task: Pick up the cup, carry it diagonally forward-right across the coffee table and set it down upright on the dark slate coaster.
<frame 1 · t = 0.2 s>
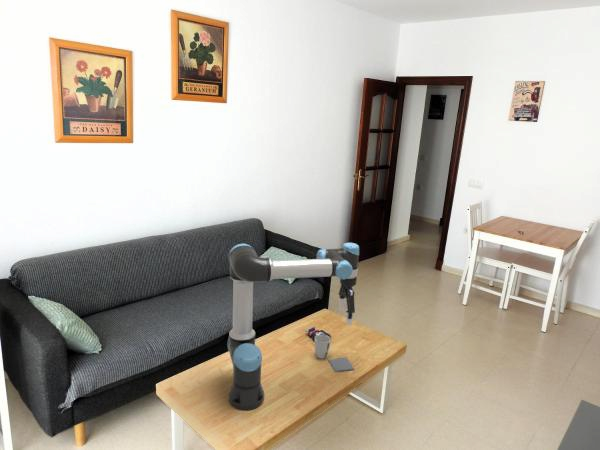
hand: (345, 317, 209), 27 cm above the table, fingers open, 13 cm apart
figurine: (317, 338, 243), on the table
coaster: (341, 365, 218), on the table
cup: (321, 356, 225), on the table
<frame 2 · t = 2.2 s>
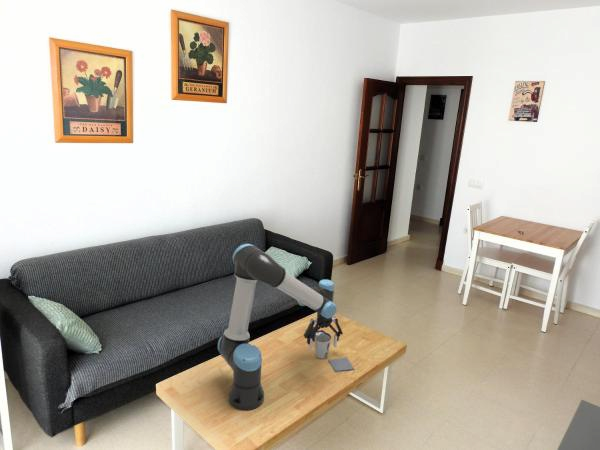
hand: (322, 348, 224), 5 cm above the table, fingers open, 13 cm apart
nothing on the table moved.
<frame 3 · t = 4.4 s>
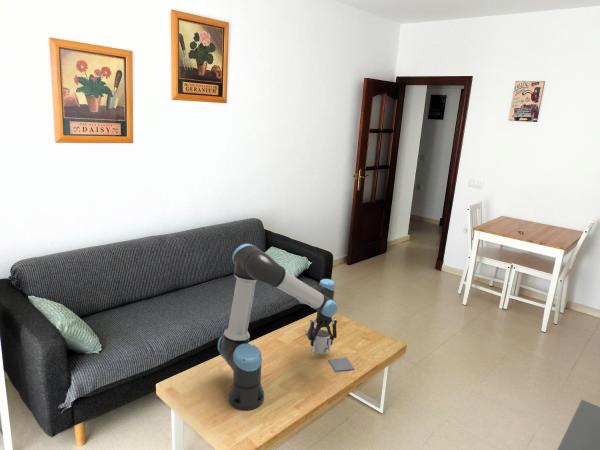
hand: (320, 350, 224), 3 cm above the table, fingers closed on cup, 8 cm apart
cup: (320, 351, 224), point 3 cm above the table, touching gripper
everything else where it was.
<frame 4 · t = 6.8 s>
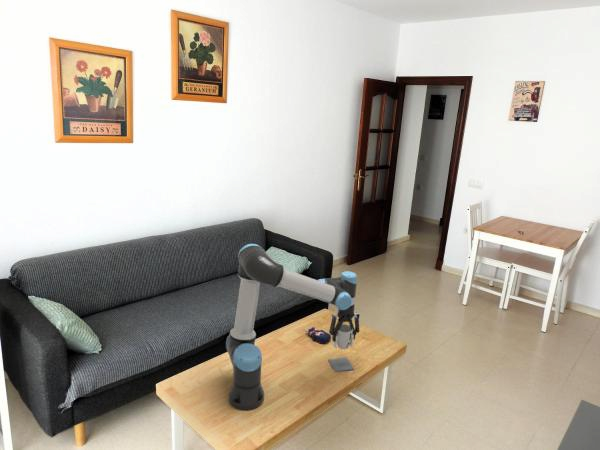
hand: (343, 346, 215), 11 cm above the table, fingers closed on cup, 8 cm apart
cup: (342, 346, 215), point 10 cm above the table, touching gripper
everything else where it was.
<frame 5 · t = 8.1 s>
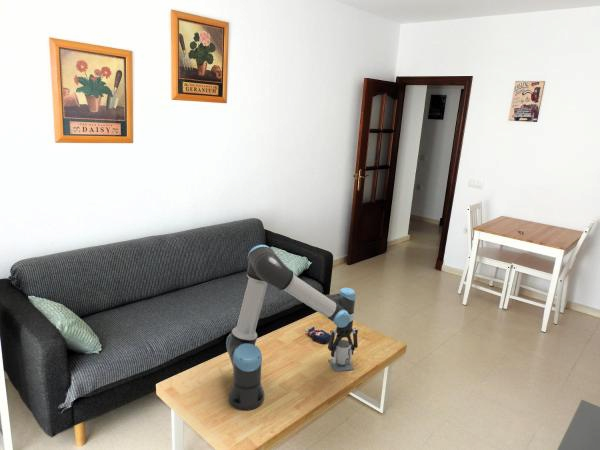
hand: (341, 361, 218), 2 cm above the table, fingers closed on cup, 8 cm apart
cup: (341, 362, 218), point 2 cm above the table, touching gripper
everything else where it was.
when the fingers open (2 cm above the table, at t = 9.1 s): cup stays where it is, resting on coaster.
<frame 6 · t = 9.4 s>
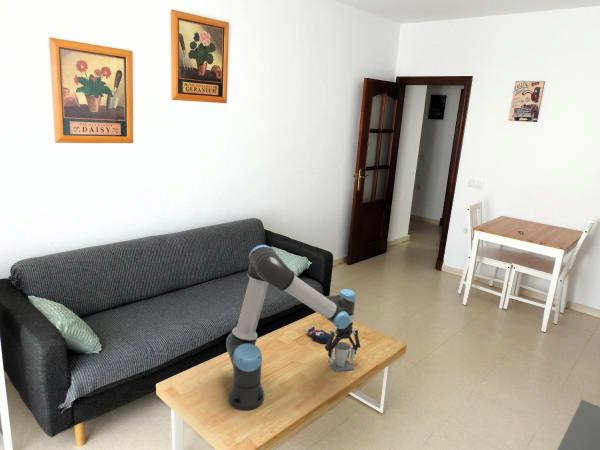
hand: (341, 361, 218), 2 cm above the table, fingers open, 10 cm apart
cup: (341, 364, 218), point 1 cm above the table, touching coaster
everything else where it was.
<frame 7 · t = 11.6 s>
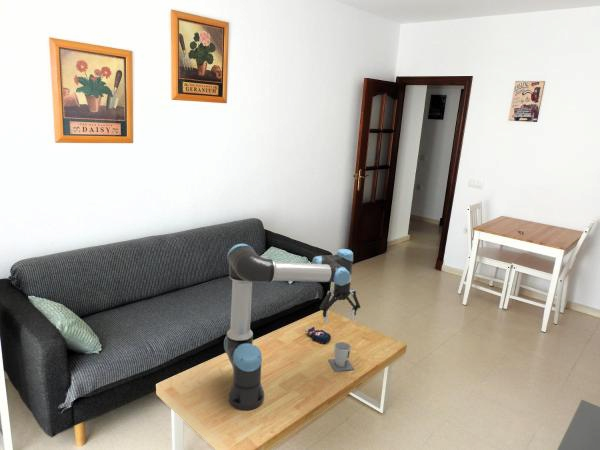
hand: (338, 321, 214), 23 cm above the table, fingers open, 13 cm apart
nothing on the table moved.
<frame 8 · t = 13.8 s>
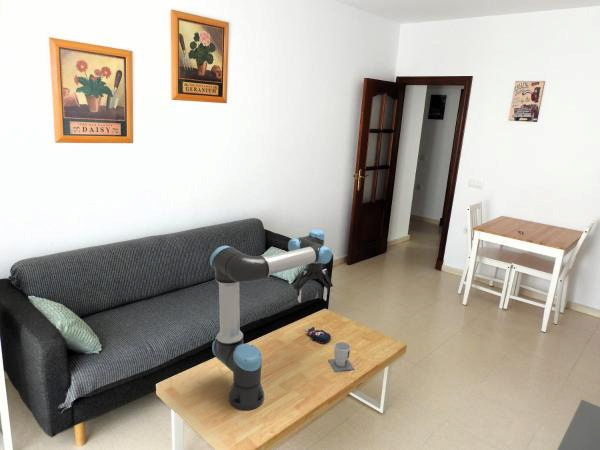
hand: (312, 300, 222), 29 cm above the table, fingers open, 13 cm apart
nothing on the table moved.
at the end: cup inside the target area on the coaster (0.1 cm from its centre), point 0.6 cm above the coaster's base; cup tilted 0°; cup touching coaster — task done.
